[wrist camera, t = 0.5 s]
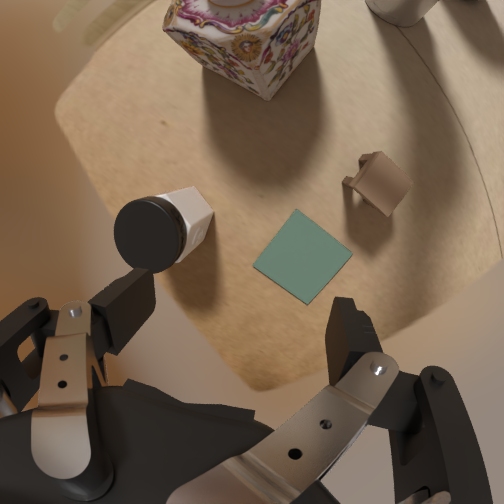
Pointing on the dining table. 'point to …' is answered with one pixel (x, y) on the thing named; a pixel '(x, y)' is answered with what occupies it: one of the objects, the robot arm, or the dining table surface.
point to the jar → (162, 228)
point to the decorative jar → (246, 38)
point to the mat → (302, 257)
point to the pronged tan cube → (380, 182)
